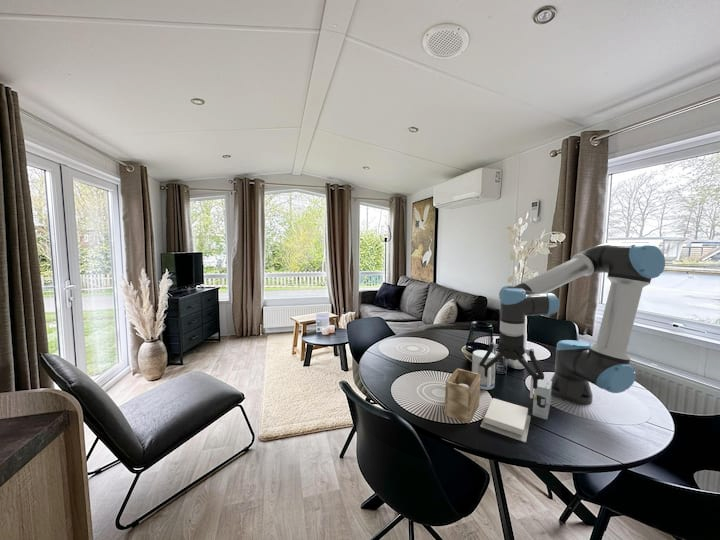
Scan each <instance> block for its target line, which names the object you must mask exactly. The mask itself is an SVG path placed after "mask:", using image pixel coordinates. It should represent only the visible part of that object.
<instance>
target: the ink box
mask: <svg viewBox="0 0 720 540" xmlns="http://www.w3.org/2000/svg"><path fill="white" fill-rule="evenodd" d="M551 388H552V381H551V380H549V379H546V378H544V379H543V380H541V379H539V380H538V385H537V389H534V388H533V401H532V413H531V414H532V416H534V417H537V418H540V419H544V420H548V418H549V413H550V409H551V399H552V394H551Z"/></svg>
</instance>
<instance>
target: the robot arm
mask: <svg viewBox="0 0 720 540" xmlns="http://www.w3.org/2000/svg"><path fill="white" fill-rule="evenodd" d="M665 267H666V258H665V256H664V253H663V252H662V250H661V249H660V247H658V246H656V245H653V244H649V243H641V242H639V243H638V242H631V243H629V242H619V243H618V242H617V243H616V242H615V243H614V242H607V243H603V244H598V245H594V246H592V247H589V248H587V249H585V250H582V251H580V252H577V253H576V254H574V255H572V257H571V259H570V260H567V261H565V262H563V263H561V264H558V265H556V266H555V267H552V268H551V269H549V270H546V271H545V272H543V273H540V274H538V275H535V276H533V277H531V278H529V279H527V280H525V281H523V282H521V283H519V284H517V285H514V286H513V285H505V286H503V287H501V289H500V291H499V293H498V295H499V296H498V298H499V299H500V311H499V312H500V315H499V316H500V319H499V343H498V344H497V343H495V342H493V341H491V342H490V343H489V347H488V350H486V351H487V353H486V355H485V356H484V358H483V359H482V361H481V362H480V364H479V365H480V366H482V367H484V369H485V374H484V375H485V377H487V387H490V385H491V367H490V366H492V365H493V364H494V363H495V364H496V363H497V362H498V361H499V360H500V359H502V358H504V359H506V360H512V361H518V362H519V363H520V364H521V365H522V366H523V368H524V369H525V370H526V371H527V373H528V374H529V376H530V377H531V378H530V384H529V385H530V387H529V398H530V399H534V389H537V385H538V380H539V379H541V380H543V379H545V374H544V371H543V369H542V368H541V365H540V363H539V362H538V360H537V358H536V356H535V350H534V349H533V348H530V349H525V346H524V344H525V343H524V342H525V335H524V333H525V322H526V321H525V320H526V317H529V316H530V317H531V316H533V317H534V316H548V315H553V314H556V313H557V312H558V311H559V309H560V300H559V298H558V297H557V295H555V294H554V293H551V291H554V290H556V289H558V288H560V287H562V286H564V285H567V284H568V283H570V282H573V281H574V280H576V279H579V278H581V277H584V276H585V277H589V276H592V275H594V274H598V273H599V274H600V273H607V276H606V277H607V279H608V280H609V281H610V286H609V291H608V294H607V299H606V303H605V306H604V310H603V314H602V318H601V323H600V327H599V331H598V335H597V339H596V342H595V344H594V345H591V343H589V342H586V341H582V340H573V339H565V340H564V339H563V340H559V341H558V342H557V343H556V349H555V358H554V359H555V361H554V372H553V373H554V374H553V375H552V377H551V379H550V381H552V388H551V396H553V397H556V398H557V399H558V400H559V399H560V400H562V401H565V402H569V403H572V404H577V405H588V404H591V403H592V402H593V391H592V389H591V386H590V384H592V385H594V386H596V387H598V388H599V389H601V390H605V392H608V393H613V394H619V393H623V392H625V391H626V390H629V389H630V388H631V387H632V386H633V384H634V383H635V381H636V378H637V373H636V370H635V368H634V367H633V366H632V365H631V364H630V362H631V357H630V356H629V354H628V353H627V350H628V347H629V344H630V343H629V342H630V339H631V335H632V331H633V327H634V323H635V319H636V315H637V312H638V308H639V303H640V300H641V296H642V292H643V288H644V287H646V286H649V285H651V281H652V279H655V278H658V277H659V276H661V274H662V273H663V272H664V270H665ZM496 349H498V351H499V353H497V354H496V355H495V357H494V358H493V359H492V360H490V361H489V362H488V363H485V361H486V360H487V358H488V357H489V355H490V354H491V352H492V353H493V351H495V350H496ZM524 354H526V356H528V357H529V359H530V361H531V363H532V366H533V367H534V368H532V366H531V365H530V364H529V363H528V361H527V360H526V359H525V357H524ZM534 369H535V370H534Z"/></svg>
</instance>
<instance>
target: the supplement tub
mask: <svg viewBox="0 0 720 540" xmlns="http://www.w3.org/2000/svg"><path fill="white" fill-rule="evenodd" d="M487 351H488V350H483V349H475V350H474V351H472V357H471V358H472V359H471V361H472V362H471V372H474V373H478V374H480V390H486V391H488V390H493V389H494V388H495V385H496V384H495V383H496V381H495V379H496V362H495V363H494V364H493V365H492V366H490V367H491V385H490V387H487V377H485V375H484V374H485V369H484V367H482V366H480V365H479V364H480V362H481V361H482V359H483V358H484V356H485V355H486V353H487ZM495 356H496V354H495V353H493V351H492V352H491V354H490V355H489V357H488V358H487V360H486V361H485V363H488V362H489V361H490V360H492V359H493V358H494V357H495Z"/></svg>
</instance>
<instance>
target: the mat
mask: <svg viewBox="0 0 720 540" xmlns="http://www.w3.org/2000/svg"><path fill="white" fill-rule="evenodd" d="M489 406H490V404H489ZM489 406H488V407H489ZM486 413H487V411H486V412H485V415H486ZM485 415H484V416H485ZM531 417H532V416H531V415H529V414H528V415H527V420H526V424H525V429H524V434H523V435H520V434H517V433H513V432H510V431H507V430H504V429H501V428H499V427H496V426H493V425H490V424H488V423H485V422H484V418H483V419H482V421H481V424H480V428H483V429H486V430H489V431H491V432H494V433H497V434H500V435H502V436H506V437H508V438H511V439H514V440H517V441H520V442H523V443H525V444H526V443H527V439H528V438H527V437H528V434H529V428H530V423H531Z"/></svg>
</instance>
